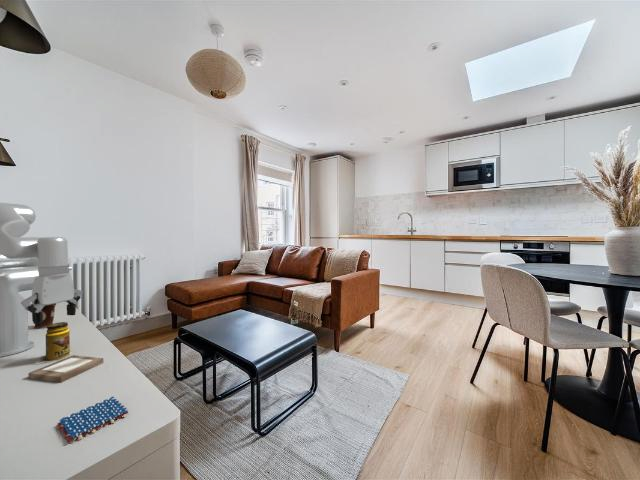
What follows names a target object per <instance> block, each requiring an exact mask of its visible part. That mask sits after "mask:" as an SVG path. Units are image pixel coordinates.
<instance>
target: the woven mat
mask: <svg viewBox="0 0 640 480" xmlns="http://www.w3.org/2000/svg"><path fill="white" fill-rule="evenodd" d="M119 401H120V400H117V398H115V396H111V397H109V398H107V399H103V400H102V401H101V402H95V404H92V405H91V406H88V407H86V408H84V409H80V410H78V411H77V412H75V413H74V412H73V413H71V414H70V415H68V416H64V417H62V418H60V419H59V422H57V426H58V430H60V432H61V433H62V434H63V436H64V440H65V439H66V442H68V443H70V444H71V445H73V444H75V441H76V440H78V441H80V440H82V439H83V438H84V437H86V438H87V437H90V435H89V434H90V433H91V434H95V433H96V431H97V430H98V429H100V430H102V429H101V428H103V426H104V427H106V428H107V425H112V423H113V424H114V423H115V422H114V421H116V419H117V420H118V421H117V422H119V420H120V418H122V416H123V417H124V418H123V419H125V418H126V417H127V416H128V415H127V414H128V413H129V411H128V409H127V407H125V405H124V404H123V405H122V402H119ZM110 423H111V424H110Z"/></svg>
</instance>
